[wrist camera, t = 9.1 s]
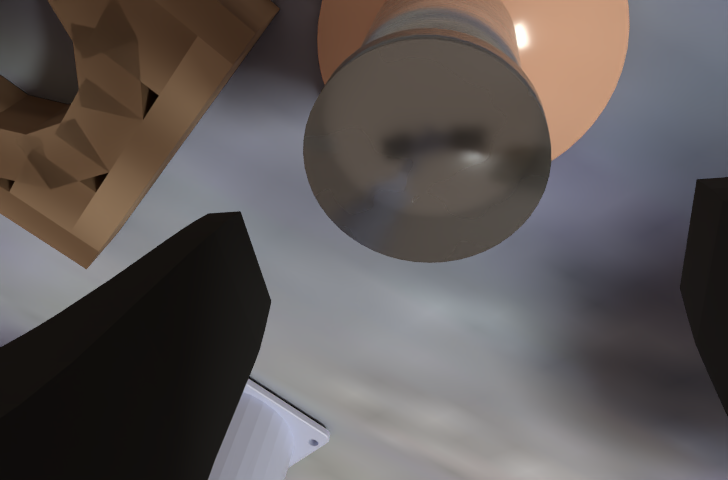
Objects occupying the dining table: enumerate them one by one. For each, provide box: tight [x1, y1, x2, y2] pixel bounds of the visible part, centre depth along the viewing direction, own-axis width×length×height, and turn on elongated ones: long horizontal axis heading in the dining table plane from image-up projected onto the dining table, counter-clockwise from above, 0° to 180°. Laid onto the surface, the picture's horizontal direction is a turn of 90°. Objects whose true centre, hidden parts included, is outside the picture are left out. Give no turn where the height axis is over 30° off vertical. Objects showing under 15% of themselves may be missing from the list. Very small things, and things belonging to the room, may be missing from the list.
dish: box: [317, 0, 629, 161], centre depth 18 cm, size 9×9×1 cm
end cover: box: [303, 0, 551, 263], centre depth 15 cm, size 5×5×7 cm
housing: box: [0, 0, 280, 269], centre depth 19 cm, size 12×12×2 cm
